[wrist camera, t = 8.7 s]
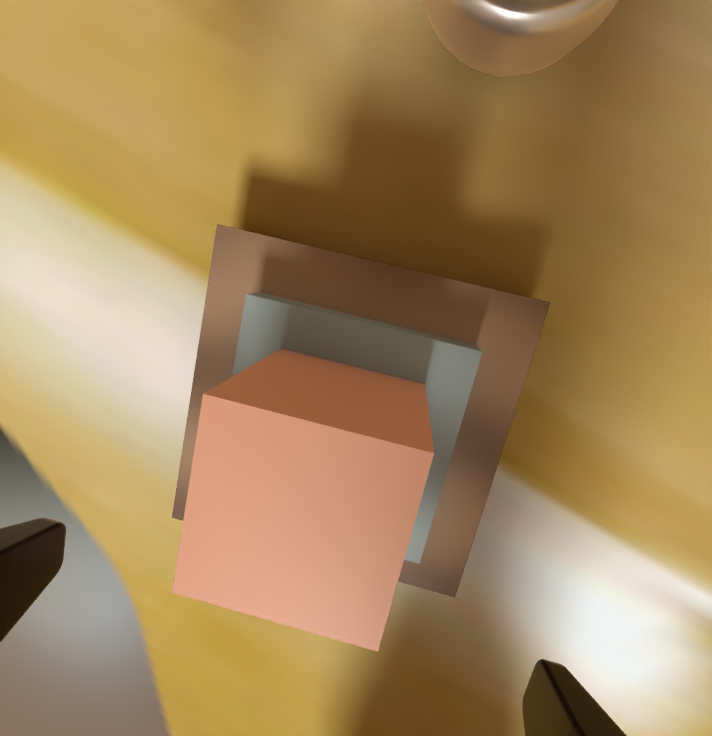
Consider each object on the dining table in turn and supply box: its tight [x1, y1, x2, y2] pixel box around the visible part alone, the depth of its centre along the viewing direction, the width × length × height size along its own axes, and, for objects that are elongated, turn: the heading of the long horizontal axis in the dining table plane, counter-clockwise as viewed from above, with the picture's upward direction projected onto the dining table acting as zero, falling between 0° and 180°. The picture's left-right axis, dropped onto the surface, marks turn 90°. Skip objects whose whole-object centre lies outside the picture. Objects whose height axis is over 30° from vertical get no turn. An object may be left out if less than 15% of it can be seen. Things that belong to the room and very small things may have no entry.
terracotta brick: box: [172, 349, 434, 652], centre depth 13 cm, size 5×5×6 cm
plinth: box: [172, 224, 550, 597], centre depth 18 cm, size 12×12×4 cm
